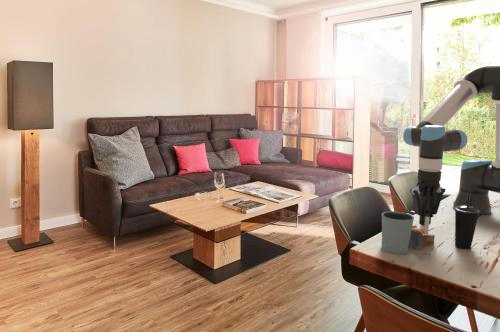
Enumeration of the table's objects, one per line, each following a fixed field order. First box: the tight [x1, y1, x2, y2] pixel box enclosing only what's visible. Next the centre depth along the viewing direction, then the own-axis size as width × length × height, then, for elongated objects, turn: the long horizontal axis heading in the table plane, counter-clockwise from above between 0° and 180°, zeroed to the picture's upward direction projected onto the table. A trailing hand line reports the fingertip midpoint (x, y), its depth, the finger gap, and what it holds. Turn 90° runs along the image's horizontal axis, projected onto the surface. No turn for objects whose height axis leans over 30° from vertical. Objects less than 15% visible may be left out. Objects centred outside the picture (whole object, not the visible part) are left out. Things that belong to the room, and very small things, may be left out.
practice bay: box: [409, 224, 436, 251], centre depth 142 cm, size 9×14×6 cm, turn 13°
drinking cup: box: [454, 191, 480, 251], centre depth 136 cm, size 8×8×20 cm
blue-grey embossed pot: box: [381, 210, 415, 255], centre depth 135 cm, size 10×10×12 cm
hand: (423, 233), depth 144 cm, fingers closed
